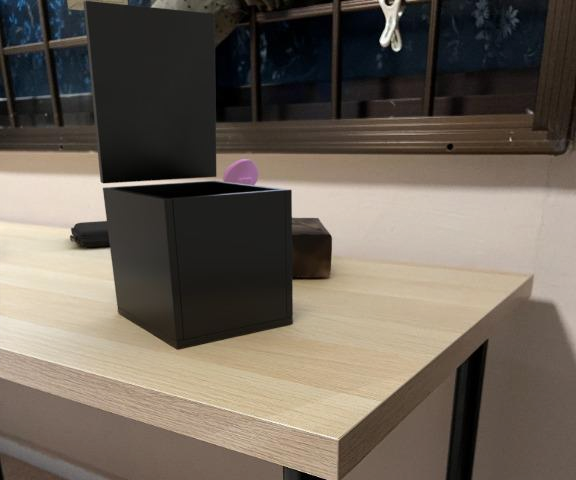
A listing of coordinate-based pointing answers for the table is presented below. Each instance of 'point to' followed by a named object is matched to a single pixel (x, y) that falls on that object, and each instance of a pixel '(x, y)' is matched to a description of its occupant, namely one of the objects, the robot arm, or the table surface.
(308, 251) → the dark brown block
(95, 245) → the carrying case
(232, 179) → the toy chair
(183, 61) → the black lid
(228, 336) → the trash can
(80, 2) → the cosmetic box
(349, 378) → the table surface
